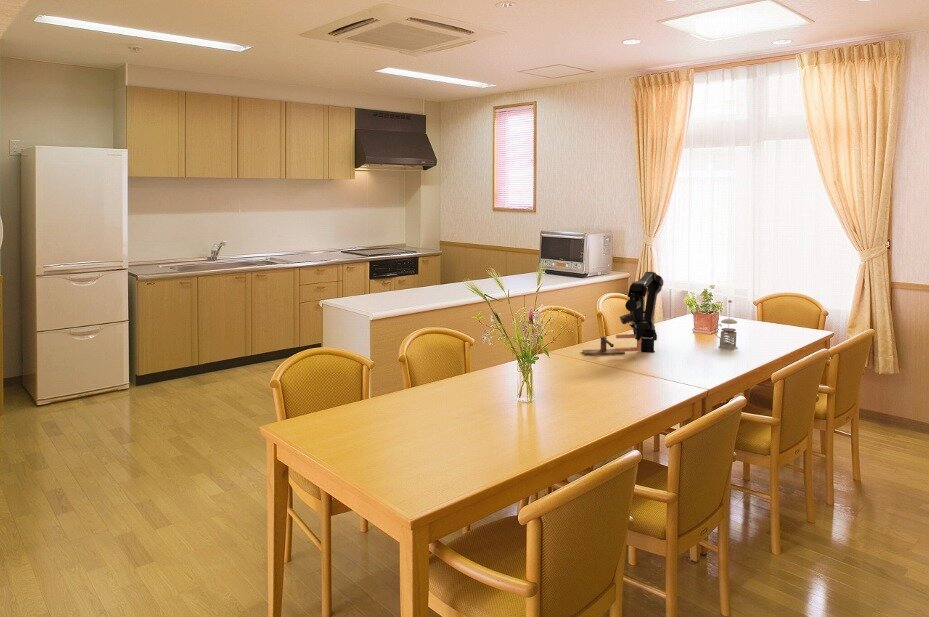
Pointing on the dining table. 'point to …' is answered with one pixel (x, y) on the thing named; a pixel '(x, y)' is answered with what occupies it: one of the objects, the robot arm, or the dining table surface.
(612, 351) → the stand
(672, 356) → the dining table surface
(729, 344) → the french press
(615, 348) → the c link
